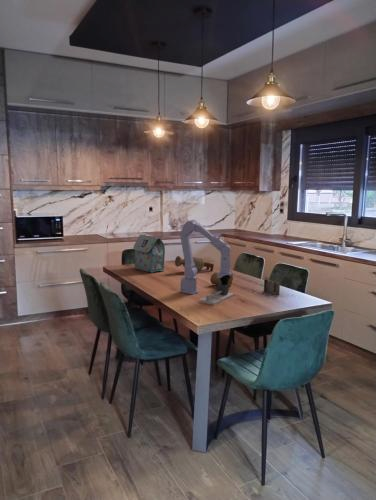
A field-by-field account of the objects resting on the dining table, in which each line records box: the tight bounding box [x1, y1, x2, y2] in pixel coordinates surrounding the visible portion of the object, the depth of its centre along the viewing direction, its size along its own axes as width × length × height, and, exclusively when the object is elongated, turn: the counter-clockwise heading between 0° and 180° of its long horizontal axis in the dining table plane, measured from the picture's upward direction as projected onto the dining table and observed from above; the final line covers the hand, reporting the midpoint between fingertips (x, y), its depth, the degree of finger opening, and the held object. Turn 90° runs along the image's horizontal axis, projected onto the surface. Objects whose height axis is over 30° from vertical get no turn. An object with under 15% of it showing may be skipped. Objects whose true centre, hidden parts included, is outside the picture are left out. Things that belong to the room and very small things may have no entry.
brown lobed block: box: [210, 272, 234, 289], centre depth 257 cm, size 9×16×10 cm, turn 33°
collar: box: [216, 284, 229, 295], centre depth 235 cm, size 3×6×5 cm, turn 57°
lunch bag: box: [133, 234, 166, 273], centre depth 303 cm, size 23×16×27 cm
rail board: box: [198, 290, 235, 306], centre depth 231 cm, size 24×10×4 cm, turn 146°
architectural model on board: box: [263, 276, 281, 296], centre depth 245 cm, size 11×3×10 cm, turn 29°
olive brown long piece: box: [174, 255, 215, 272], centre depth 301 cm, size 10×12×30 cm
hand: (224, 287), depth 237 cm, fingers closed
